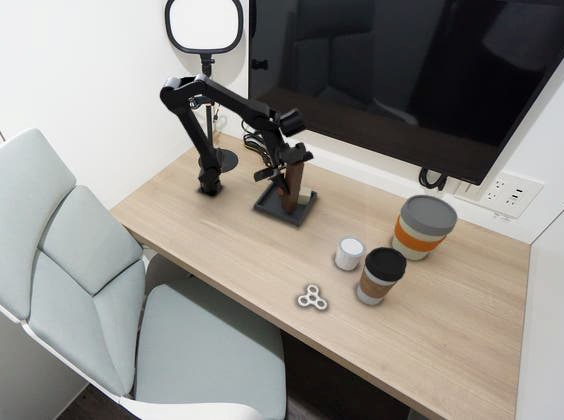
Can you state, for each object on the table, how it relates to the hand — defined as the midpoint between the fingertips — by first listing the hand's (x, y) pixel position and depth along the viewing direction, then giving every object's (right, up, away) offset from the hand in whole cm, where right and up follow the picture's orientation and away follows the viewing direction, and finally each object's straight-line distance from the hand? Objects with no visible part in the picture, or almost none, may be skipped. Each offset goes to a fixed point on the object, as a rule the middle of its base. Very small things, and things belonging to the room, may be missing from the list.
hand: (294, 193), depth 94 cm
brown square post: (-1, -5, +6) cm, 8 cm away
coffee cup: (+16, -27, -14) cm, 34 cm away
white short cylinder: (+13, -20, -6) cm, 24 cm away
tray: (-1, -3, +10) cm, 11 cm away
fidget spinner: (+2, -27, -14) cm, 31 cm away
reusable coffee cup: (+32, -16, -3) cm, 36 cm away
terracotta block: (0, +1, +14) cm, 14 cm away
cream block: (+5, -2, +11) cm, 12 cm away
